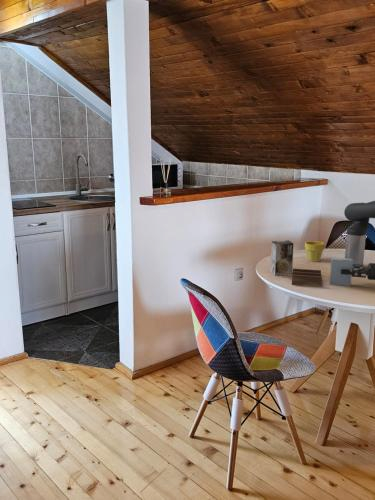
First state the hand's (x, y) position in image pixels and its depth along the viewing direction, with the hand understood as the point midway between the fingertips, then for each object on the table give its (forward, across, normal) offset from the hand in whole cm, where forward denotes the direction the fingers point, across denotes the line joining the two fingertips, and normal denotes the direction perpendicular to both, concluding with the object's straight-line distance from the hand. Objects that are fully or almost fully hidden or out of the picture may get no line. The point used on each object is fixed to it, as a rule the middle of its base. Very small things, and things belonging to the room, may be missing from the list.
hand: (340, 269), depth 214 cm
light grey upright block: (0, 0, +7) cm, 7 cm away
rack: (+15, 0, +7) cm, 16 cm away
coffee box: (+27, -11, +7) cm, 30 cm away
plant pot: (+11, -42, +7) cm, 44 cm away
